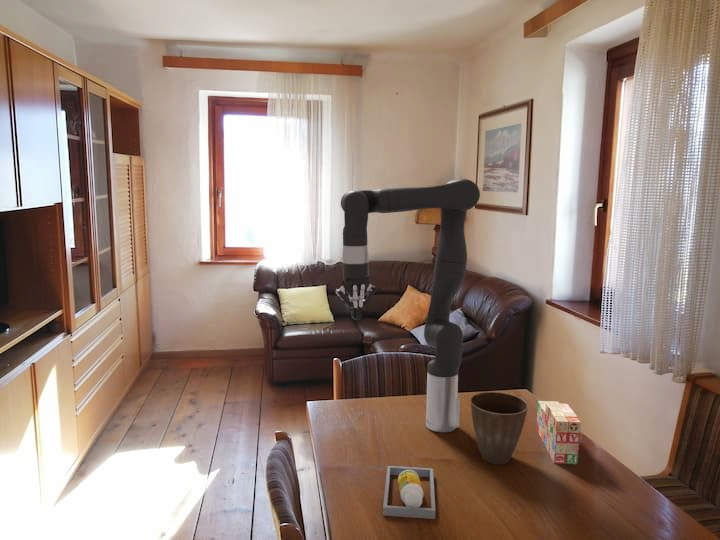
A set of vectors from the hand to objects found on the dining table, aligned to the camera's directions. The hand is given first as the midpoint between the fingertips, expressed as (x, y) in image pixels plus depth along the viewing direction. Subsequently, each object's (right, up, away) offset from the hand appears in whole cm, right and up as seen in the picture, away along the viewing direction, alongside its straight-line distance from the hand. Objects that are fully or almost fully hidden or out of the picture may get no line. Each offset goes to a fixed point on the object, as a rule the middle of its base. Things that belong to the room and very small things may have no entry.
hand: (356, 319), depth 162 cm
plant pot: (+38, -37, -11) cm, 54 cm away
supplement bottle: (+13, -36, -27) cm, 47 cm away
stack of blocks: (+57, -36, -3) cm, 67 cm away
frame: (+13, -39, -29) cm, 51 cm away
